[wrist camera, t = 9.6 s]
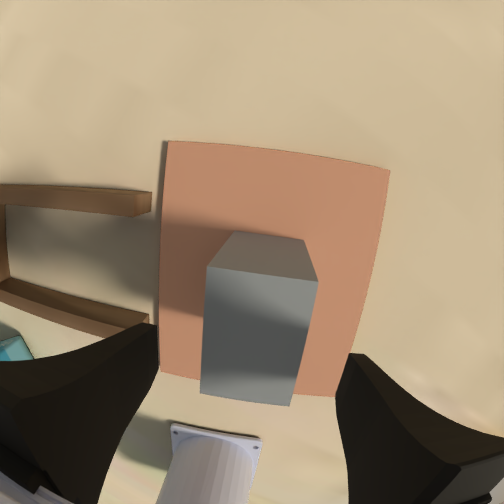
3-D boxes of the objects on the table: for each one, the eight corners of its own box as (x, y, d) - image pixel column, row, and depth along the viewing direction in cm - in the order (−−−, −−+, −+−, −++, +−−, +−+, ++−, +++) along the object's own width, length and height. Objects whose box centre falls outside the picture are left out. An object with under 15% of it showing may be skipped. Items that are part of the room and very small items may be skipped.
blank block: (287, 331, 19) (289, 406, 12) (225, 323, 19) (199, 393, 12) (303, 239, 17) (318, 282, 11) (234, 230, 18) (207, 266, 11)
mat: (333, 391, 21) (335, 396, 20) (163, 367, 21) (160, 371, 21) (386, 170, 16) (390, 170, 16) (171, 141, 17) (168, 141, 17)
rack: (149, 329, 21) (125, 358, 17) (4, 286, 21) (-23, 301, 18) (152, 192, 18) (121, 198, 14) (-3, 184, 19) (-35, 189, 15)
